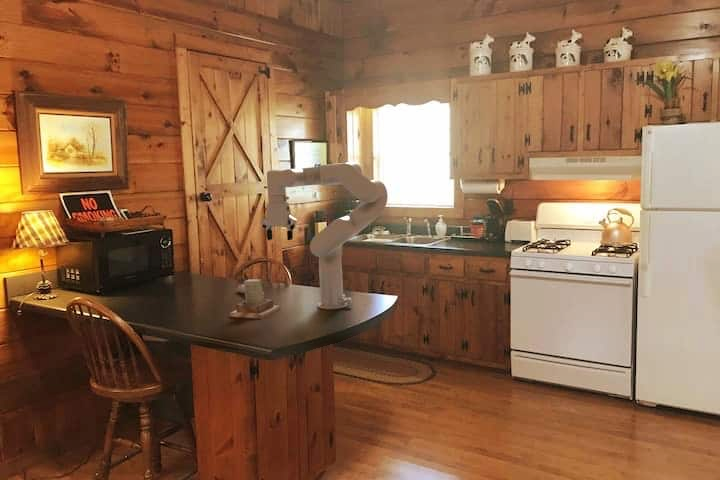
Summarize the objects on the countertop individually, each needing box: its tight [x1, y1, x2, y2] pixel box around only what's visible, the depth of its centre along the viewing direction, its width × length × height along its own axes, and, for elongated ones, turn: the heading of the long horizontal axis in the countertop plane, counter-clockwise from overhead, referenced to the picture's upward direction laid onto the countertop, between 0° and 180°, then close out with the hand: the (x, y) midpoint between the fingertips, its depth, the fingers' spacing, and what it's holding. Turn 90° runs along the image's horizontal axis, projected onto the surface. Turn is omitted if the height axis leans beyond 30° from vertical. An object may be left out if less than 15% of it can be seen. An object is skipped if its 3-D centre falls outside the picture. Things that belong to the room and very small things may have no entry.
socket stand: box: [229, 298, 281, 319], centre depth 247 cm, size 15×15×4 cm
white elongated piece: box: [236, 283, 265, 299], centre depth 281 cm, size 5×7×25 cm
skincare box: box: [243, 278, 265, 305], centre depth 247 cm, size 6×4×12 cm
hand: (279, 239), depth 256 cm, fingers open, 9 cm apart
